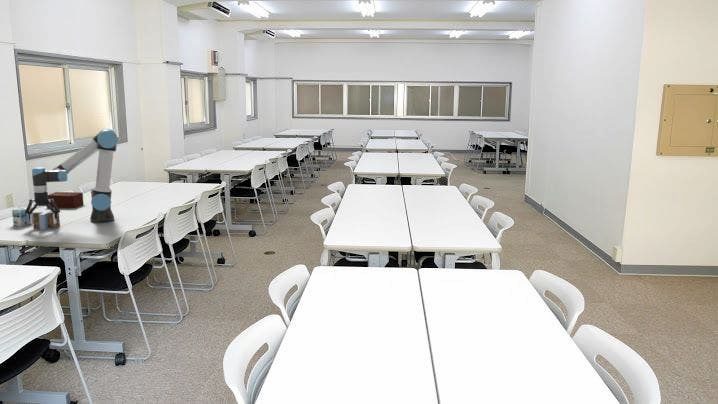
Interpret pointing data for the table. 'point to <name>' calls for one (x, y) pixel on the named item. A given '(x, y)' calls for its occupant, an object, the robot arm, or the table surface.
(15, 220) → the light bulb box
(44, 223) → the blue-grey rectangular slab
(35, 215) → the brown wooden u-shaped block
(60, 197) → the box
